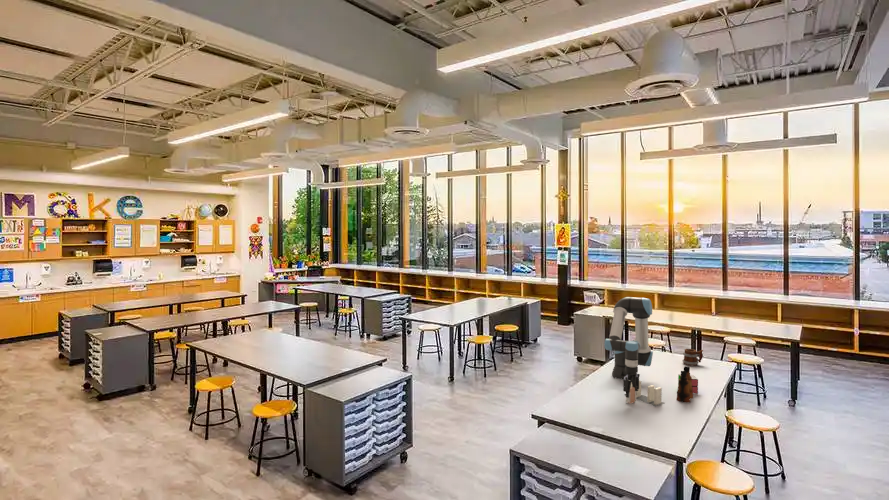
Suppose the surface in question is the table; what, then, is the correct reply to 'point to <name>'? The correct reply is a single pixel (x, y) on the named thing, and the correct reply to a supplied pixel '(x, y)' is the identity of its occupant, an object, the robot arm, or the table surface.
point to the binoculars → (685, 386)
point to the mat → (644, 399)
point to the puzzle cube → (693, 383)
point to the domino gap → (632, 395)
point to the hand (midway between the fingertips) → (631, 401)
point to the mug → (692, 357)
